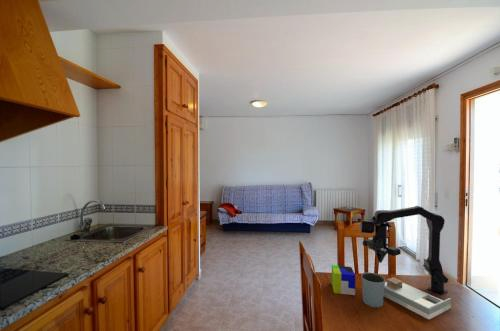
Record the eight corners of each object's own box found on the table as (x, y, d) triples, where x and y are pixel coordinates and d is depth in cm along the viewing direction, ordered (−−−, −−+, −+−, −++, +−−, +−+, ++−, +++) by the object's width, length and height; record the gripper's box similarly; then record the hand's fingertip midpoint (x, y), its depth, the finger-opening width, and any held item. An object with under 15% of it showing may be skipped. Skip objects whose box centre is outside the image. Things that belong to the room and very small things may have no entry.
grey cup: (383, 299, 118) (384, 274, 117) (385, 311, 108) (386, 284, 108) (360, 294, 122) (361, 270, 122) (360, 305, 113) (361, 279, 112)
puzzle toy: (355, 295, 121) (355, 275, 121) (334, 293, 123) (334, 273, 123) (351, 285, 131) (351, 266, 131) (331, 283, 133) (331, 265, 133)
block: (392, 283, 129) (392, 277, 129) (402, 287, 125) (402, 281, 125) (386, 285, 127) (386, 279, 127) (396, 289, 123) (396, 283, 123)
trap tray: (394, 282, 134) (394, 274, 134) (450, 308, 111) (451, 298, 111) (373, 290, 126) (373, 281, 126) (428, 319, 103) (429, 309, 103)
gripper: (356, 231, 137) (355, 258, 138) (387, 241, 121) (387, 272, 121) (369, 229, 143) (368, 255, 143) (401, 238, 126) (400, 268, 126)
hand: (380, 262), depth 133 cm, fingers closed
